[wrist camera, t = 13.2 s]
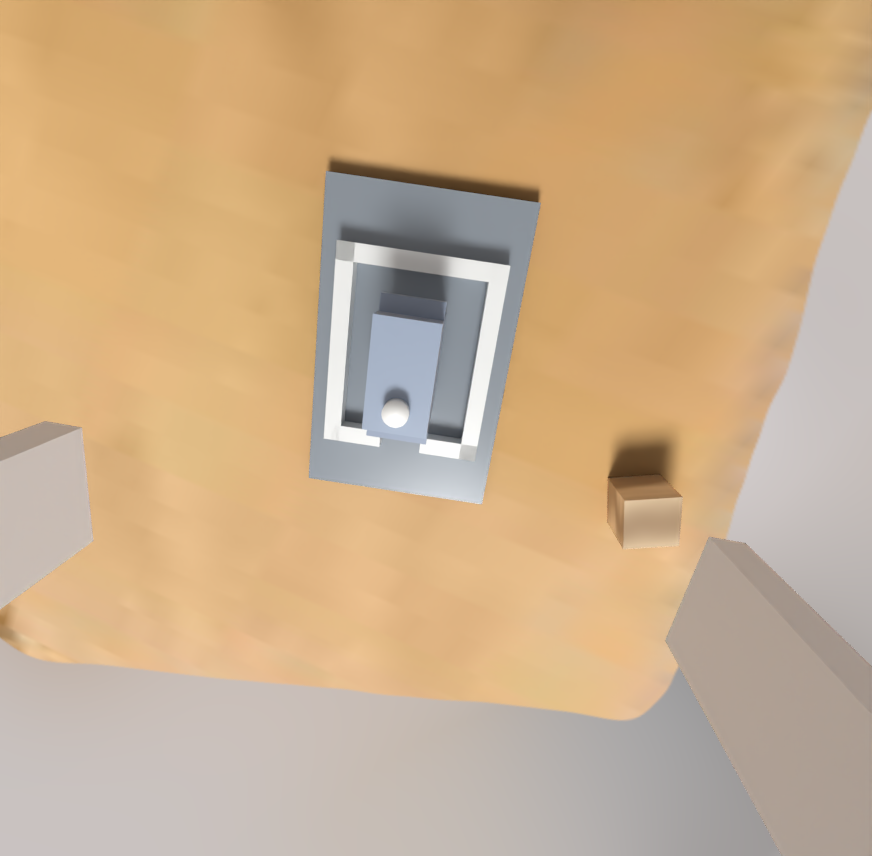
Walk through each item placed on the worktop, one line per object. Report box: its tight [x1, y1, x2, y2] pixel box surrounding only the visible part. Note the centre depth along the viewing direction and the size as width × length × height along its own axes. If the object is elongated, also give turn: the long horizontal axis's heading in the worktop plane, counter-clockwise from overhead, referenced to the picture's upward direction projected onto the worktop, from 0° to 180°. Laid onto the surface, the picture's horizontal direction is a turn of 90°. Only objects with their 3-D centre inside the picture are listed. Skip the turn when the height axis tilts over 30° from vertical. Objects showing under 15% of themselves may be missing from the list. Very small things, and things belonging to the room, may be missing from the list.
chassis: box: [309, 171, 541, 504], centre depth 33 cm, size 22×14×2 cm, turn 172°
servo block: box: [362, 292, 447, 445], centre depth 30 cm, size 9×4×7 cm, turn 172°
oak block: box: [607, 474, 683, 549], centre depth 35 cm, size 4×4×4 cm
